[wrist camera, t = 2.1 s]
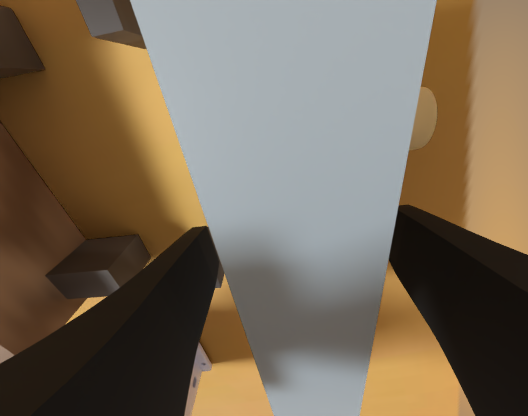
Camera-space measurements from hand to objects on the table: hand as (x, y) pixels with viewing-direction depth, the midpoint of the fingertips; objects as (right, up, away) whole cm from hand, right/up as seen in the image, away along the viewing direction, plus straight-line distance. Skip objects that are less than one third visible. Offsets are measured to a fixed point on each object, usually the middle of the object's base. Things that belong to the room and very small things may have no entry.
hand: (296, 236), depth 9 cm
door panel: (0, +2, +3) cm, 4 cm away
